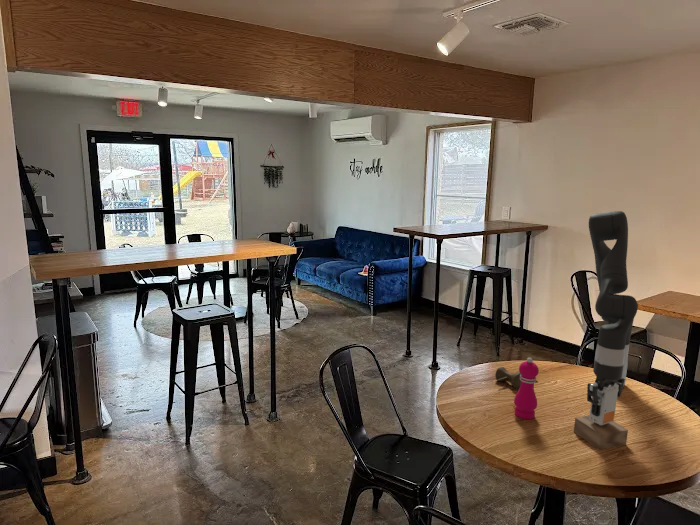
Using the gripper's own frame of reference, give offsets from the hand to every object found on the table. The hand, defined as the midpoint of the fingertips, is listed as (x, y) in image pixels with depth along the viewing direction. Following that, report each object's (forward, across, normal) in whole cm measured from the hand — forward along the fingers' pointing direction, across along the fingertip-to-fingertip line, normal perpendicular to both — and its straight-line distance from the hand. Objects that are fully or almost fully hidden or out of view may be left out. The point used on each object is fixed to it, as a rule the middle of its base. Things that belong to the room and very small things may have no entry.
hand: (602, 412), depth 140 cm
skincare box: (+3, 0, 0) cm, 3 cm away
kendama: (+9, -7, -40) cm, 42 cm away
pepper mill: (+8, +10, -20) cm, 24 cm away
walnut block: (+9, 0, 0) cm, 9 cm away
